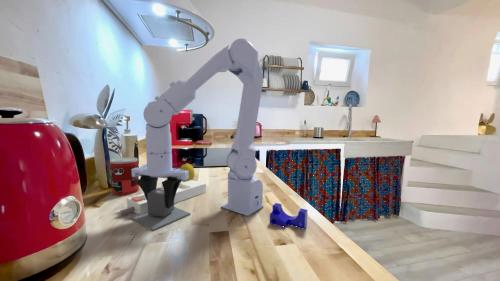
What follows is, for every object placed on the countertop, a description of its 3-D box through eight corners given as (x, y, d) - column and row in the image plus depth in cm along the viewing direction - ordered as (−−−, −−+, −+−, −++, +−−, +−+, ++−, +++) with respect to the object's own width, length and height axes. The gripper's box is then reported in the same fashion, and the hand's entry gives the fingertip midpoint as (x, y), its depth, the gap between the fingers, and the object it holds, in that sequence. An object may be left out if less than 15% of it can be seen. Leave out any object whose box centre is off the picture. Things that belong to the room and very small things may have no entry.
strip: (192, 188, 76) (192, 178, 76) (205, 192, 72) (205, 182, 71) (115, 212, 56) (114, 199, 55) (128, 220, 52) (127, 206, 51)
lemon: (192, 186, 78) (191, 164, 77) (177, 186, 78) (176, 164, 77) (196, 181, 83) (196, 161, 83) (182, 181, 84) (181, 161, 83)
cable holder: (269, 223, 51) (270, 207, 51) (275, 218, 54) (275, 202, 54) (302, 232, 47) (303, 215, 47) (306, 226, 50) (307, 209, 50)
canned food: (109, 191, 71) (107, 159, 70) (135, 186, 77) (133, 156, 76) (114, 197, 66) (112, 162, 65) (142, 191, 72) (141, 159, 70)
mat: (190, 214, 55) (190, 213, 55) (153, 231, 47) (153, 229, 47) (167, 205, 61) (167, 203, 61) (131, 218, 53) (131, 216, 53)
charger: (174, 209, 56) (173, 188, 55) (164, 216, 51) (163, 194, 51) (159, 207, 57) (158, 187, 56) (148, 214, 52) (147, 192, 52)
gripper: (194, 151, 55) (195, 202, 56) (144, 148, 58) (146, 197, 59) (180, 155, 48) (181, 213, 49) (124, 152, 51) (126, 207, 52)
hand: (161, 205), depth 54 cm, fingers closed on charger, 4 cm apart
